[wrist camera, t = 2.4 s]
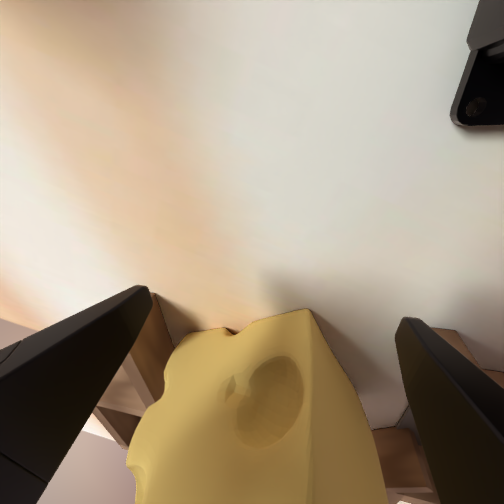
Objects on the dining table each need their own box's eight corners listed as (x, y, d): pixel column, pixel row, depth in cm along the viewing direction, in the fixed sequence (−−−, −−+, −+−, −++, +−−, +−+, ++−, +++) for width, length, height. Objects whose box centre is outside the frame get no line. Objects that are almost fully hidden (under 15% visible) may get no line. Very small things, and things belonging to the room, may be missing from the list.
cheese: (183, 330, 18) (70, 526, 9) (317, 298, 13) (331, 619, 5) (248, 404, 21) (209, 589, 13) (369, 398, 17) (427, 674, 9)
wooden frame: (627, 351, 11) (761, 452, 7) (413, 517, 27) (427, 571, 24) (60, 281, 17) (5, 318, 14) (161, 446, 34) (146, 481, 30)
